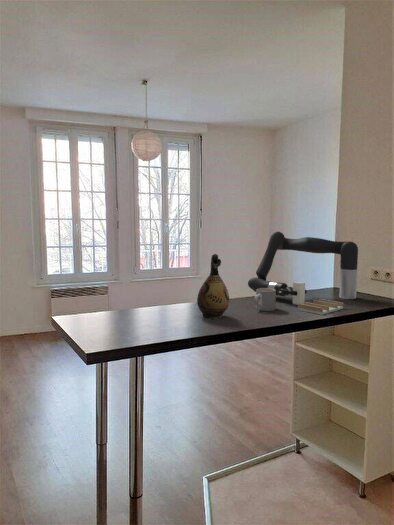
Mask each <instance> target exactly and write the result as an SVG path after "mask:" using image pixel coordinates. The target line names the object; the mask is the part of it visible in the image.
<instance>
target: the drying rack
mask: <svg viewBox="0 0 394 525" xmlns="http://www.w3.org/2000/svg"><path fill="white" fill-rule="evenodd" d="M343 309H344V302H341V301H336V300H329V299H323V298H318V299H317V300H316V299H313V300H312V302H307V301H305V302H304V304H298V305H297V311H302V312H305V313H311V314H317V315H321V316H322V315H327V314H329V313H333V312H336V311H340V310H343Z"/></svg>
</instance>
